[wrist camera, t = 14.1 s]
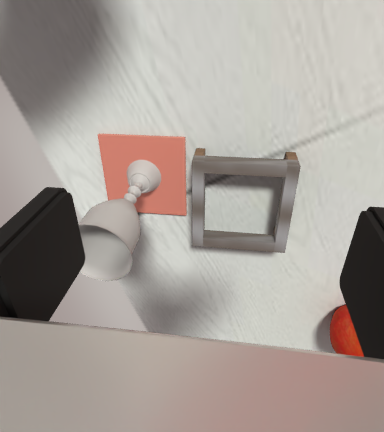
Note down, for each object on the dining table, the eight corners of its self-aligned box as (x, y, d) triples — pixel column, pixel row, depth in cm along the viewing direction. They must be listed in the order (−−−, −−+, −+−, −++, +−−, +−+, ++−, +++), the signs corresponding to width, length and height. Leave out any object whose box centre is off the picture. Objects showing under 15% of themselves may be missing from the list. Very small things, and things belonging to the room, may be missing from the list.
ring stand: (196, 148, 44) (191, 161, 41) (295, 152, 43) (300, 166, 39) (196, 227, 51) (192, 245, 47) (281, 234, 50) (284, 252, 46)
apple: (327, 332, 60) (342, 389, 50) (320, 299, 56) (335, 355, 47) (377, 326, 57) (402, 385, 48) (373, 292, 53) (400, 350, 44)
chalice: (176, 169, 46) (143, 247, 31) (157, 205, 49) (118, 291, 34) (129, 144, 45) (70, 211, 30) (112, 182, 48) (52, 260, 33)
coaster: (99, 133, 45) (97, 134, 45) (185, 137, 44) (184, 138, 43) (110, 208, 52) (109, 210, 51) (186, 213, 50) (186, 215, 50)
